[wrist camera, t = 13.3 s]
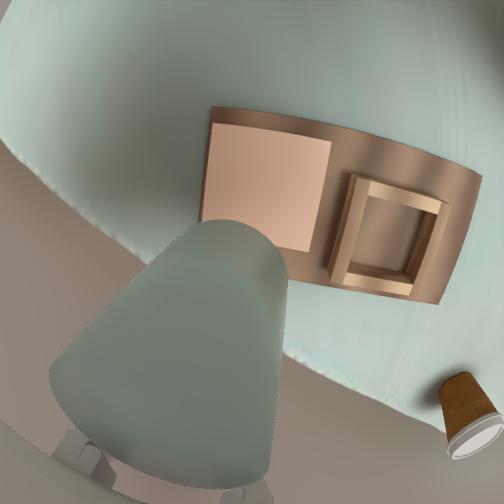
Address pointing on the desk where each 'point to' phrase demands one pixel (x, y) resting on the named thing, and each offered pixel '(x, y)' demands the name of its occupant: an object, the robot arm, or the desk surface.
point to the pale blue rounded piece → (186, 361)
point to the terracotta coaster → (266, 182)
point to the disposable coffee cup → (468, 416)
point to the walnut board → (375, 211)
